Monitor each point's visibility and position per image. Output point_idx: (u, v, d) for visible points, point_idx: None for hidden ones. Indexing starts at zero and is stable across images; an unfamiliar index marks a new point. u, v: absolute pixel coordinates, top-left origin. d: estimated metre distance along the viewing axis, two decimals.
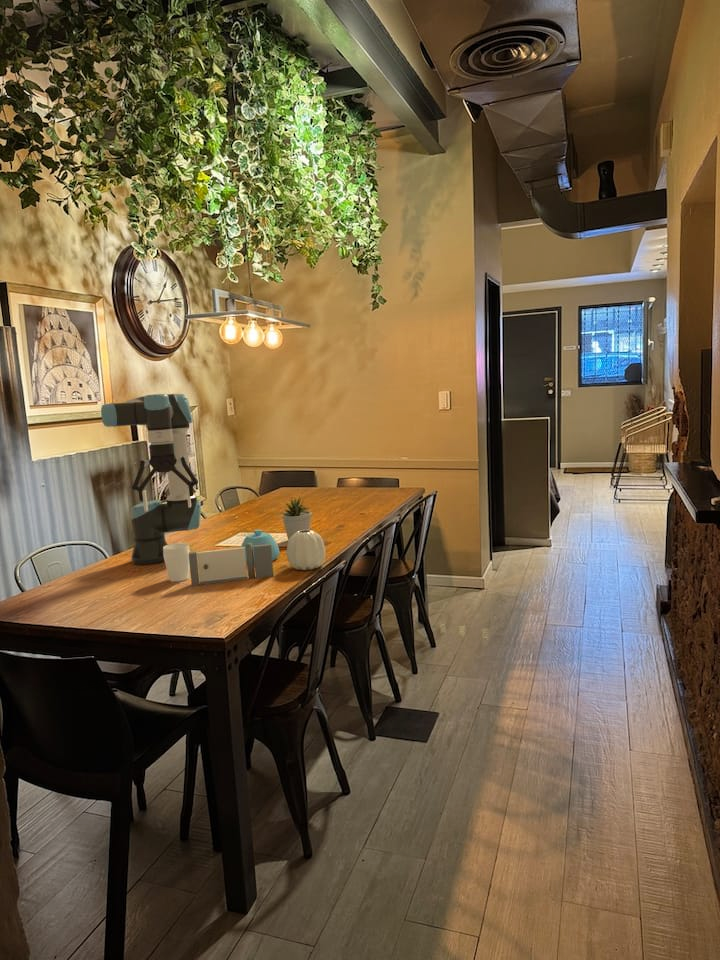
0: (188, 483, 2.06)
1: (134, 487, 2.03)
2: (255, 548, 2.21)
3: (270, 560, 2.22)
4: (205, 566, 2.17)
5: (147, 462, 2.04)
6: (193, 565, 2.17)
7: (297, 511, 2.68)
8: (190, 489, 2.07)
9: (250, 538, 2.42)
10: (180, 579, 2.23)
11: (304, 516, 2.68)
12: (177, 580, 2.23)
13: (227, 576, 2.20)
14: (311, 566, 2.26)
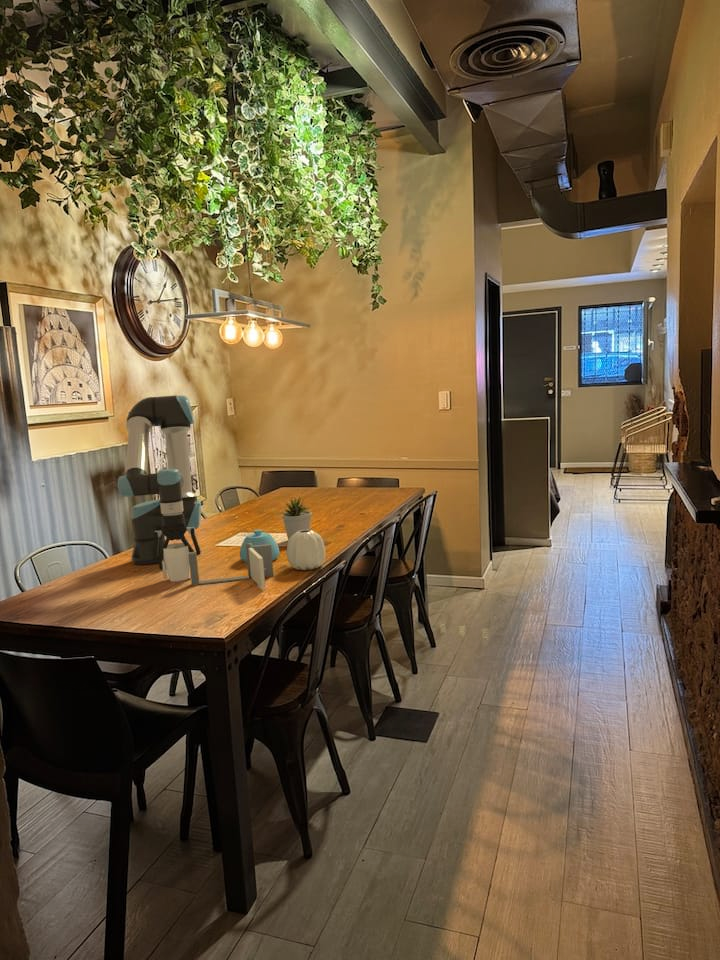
0: None
1: (154, 557, 2.23)
2: (255, 548, 2.21)
3: (270, 560, 2.22)
4: (265, 569, 2.08)
5: (160, 532, 2.23)
6: (193, 565, 2.17)
7: (297, 511, 2.68)
8: None
9: (250, 538, 2.42)
10: (180, 579, 2.23)
11: (304, 516, 2.68)
12: (177, 580, 2.23)
13: None
14: (311, 566, 2.26)
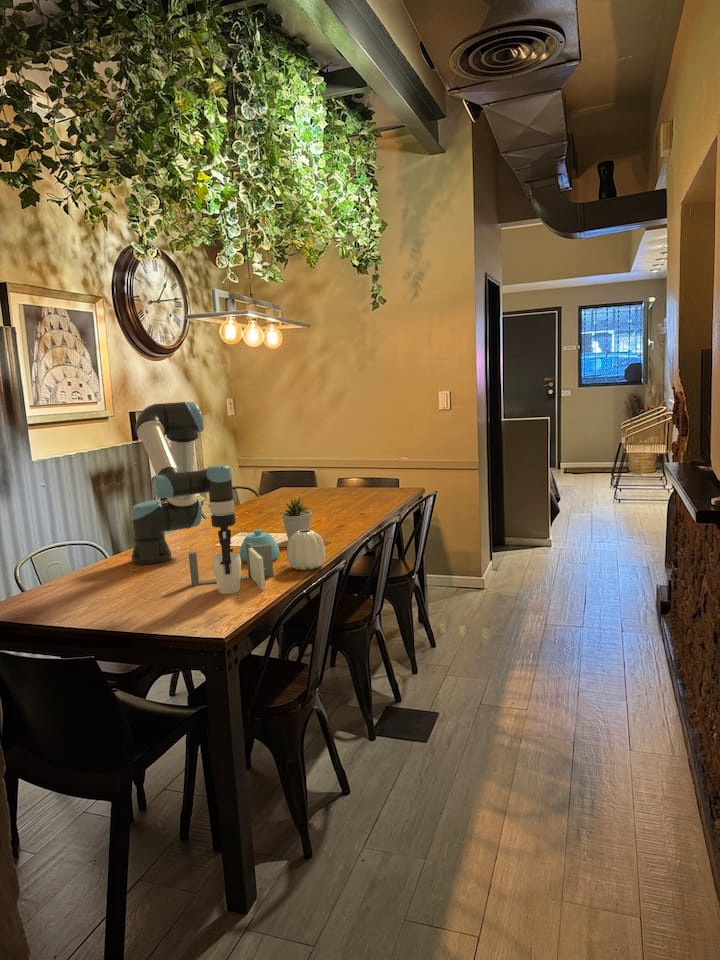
0: None
1: None
2: (255, 548, 2.21)
3: (270, 560, 2.22)
4: (265, 569, 2.08)
5: None
6: (193, 565, 2.17)
7: (297, 511, 2.68)
8: (224, 566, 2.02)
9: (250, 538, 2.42)
10: (219, 591, 2.08)
11: (304, 516, 2.68)
12: (219, 590, 2.08)
13: None
14: (311, 566, 2.26)
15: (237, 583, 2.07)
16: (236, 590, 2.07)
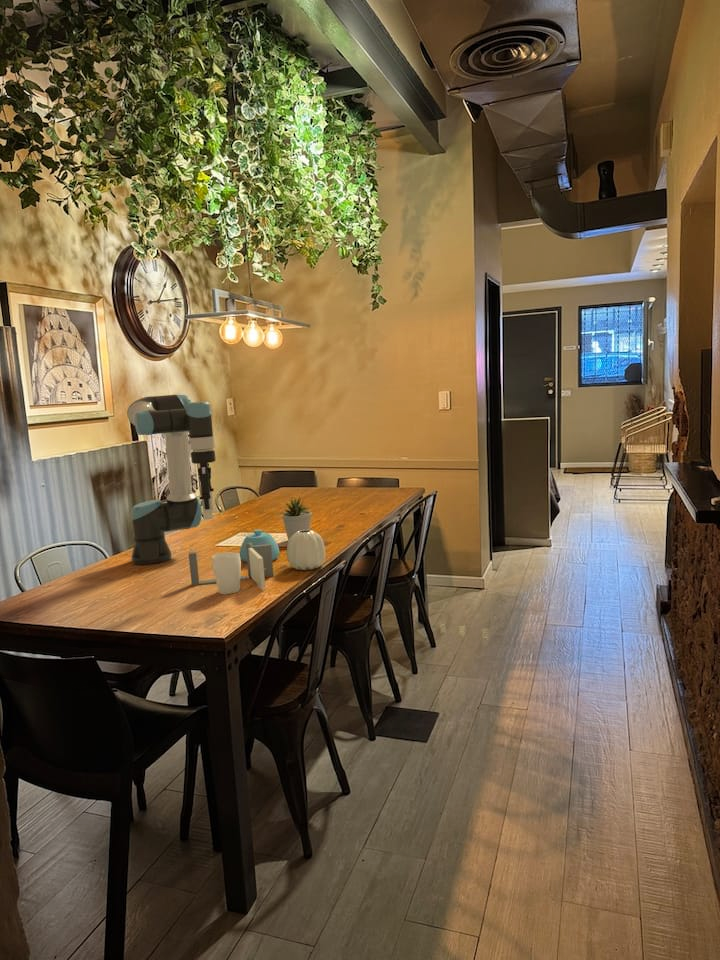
0: None
1: None
2: (255, 548, 2.21)
3: (270, 560, 2.22)
4: (265, 569, 2.08)
5: None
6: (193, 565, 2.17)
7: (297, 511, 2.68)
8: (204, 501, 2.01)
9: (250, 538, 2.42)
10: None
11: (304, 516, 2.68)
12: None
13: None
14: (311, 566, 2.26)
15: (237, 583, 2.07)
16: (236, 590, 2.07)
